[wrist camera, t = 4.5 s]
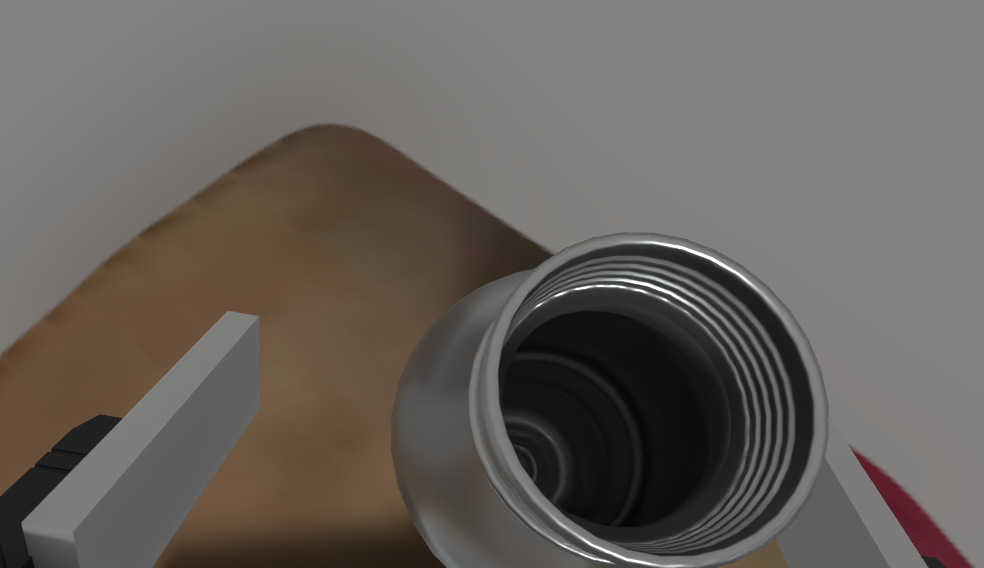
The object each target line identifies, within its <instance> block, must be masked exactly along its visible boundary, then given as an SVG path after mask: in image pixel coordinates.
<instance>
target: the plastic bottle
mask: <svg viewBox="0 0 984 568" xmlns="http://www.w3.org/2000/svg"><path fill="white" fill-rule="evenodd" d="M828 439H829V411H828V400H827V395H826V391H825V386H824V381H823V376H822V372H821V369H820V367H819V364H818V362H817V359H816V357H815V354H814V352H813V350H812V347H811V345H810V342H809V340H808V338H807V337H806V335H805V334H804V332H803V330H802V329H801V327H800V326H799V324H798V322H797V321H796V319H795V318H794V316H793V314H792V313H791V311H790V310H789V309H788V308H787V307H786V306H785V305H784V304H783V303H782V301H781V300H780V299H779V298H778V297H777V296H776V295H775V294H774V292H773V291H772V290H771V289H770V288H769V287H768V286H767V285H766V284H764V283H763V282H762V281H760V280H759V279H758V278H757V277H756V276H754V275H753V274H752V273H751V272H750V271H748V270H747V269H746V268H745V267H743V266H742V265H740V264H738V263H737V262H735V261H733V260H731V259H730V258H728V257H726V256H724V255H723V254H721V253H719V252H717V251H716V250H713V249H711V248H708V247H705V246H703V245H700V244H697V243H694V242H692V241H689V240H686V239H683V238H678V237H672V236H666V235H662V234H656V233H618V234H612V235H606V236H600V237H594V238H591V239H589V240H586V241H583V242H581V243H578V244H575V245H573V246H570V247H567V248H565V249H563V250H562V251H560V252H559V253H557V254H555V255H554V256H552V257H551V258H549V259H547V260H546V261H544V262H543V263H541V264H540V265H539V266H538V267H536V268H535V269H532V270H526V271H521V272H516V273H513V274H511V275H508V276H506V277H503V278H500V279H498V280H495V281H492V282H490V283H487V284H485V285H483V286H481V287H479V288H478V289H476V290H475V291H473V292H472V293H470V294H468V295H467V296H465V297H464V298H462V299H460V300H459V301H457V302H456V303H454V304H453V305H452V306H451V307H449V308H448V309H447V310H446V311H445V312H444V313H443V314H442V315H441V316H440V317H439V318H438V319H437V320H436V321H435V322H434V323H433V324H431V325H430V327H429V328H428V330H427V331H426V332H425V334H424V335H423V337H422V338H421V340H420V341H419V342H418V344H417V345H416V347H415V348H414V350H413V351H412V353H411V355H410V357H409V360H408V362H407V364H406V367H405V369H404V371H403V373H402V376H401V378H400V380H399V383H398V388H397V392H396V397H395V402H394V407H393V411H392V422H391V452H392V458H393V463H394V468H395V473H396V479H397V484H398V488H399V490H400V493H401V495H402V498H403V500H404V503H405V505H406V508H407V510H408V513H409V515H410V518H411V520H412V522H413V524H414V525H415V527H416V528H417V530H418V531H419V533H420V534H421V536H422V538H423V539H424V541H425V542H426V544H427V545H428V547H429V548H430V550H431V551H432V553H433V554H434V555H435V556H436V557H437V558H438V559H439V560H440V561H441V562H442V563H443V564H444V565H445V566H446V567H447V568H713V567H717V566H722V565H726V564H730V563H734V562H736V561H738V560H740V559H742V558H744V557H746V556H748V555H750V554H752V553H754V552H756V551H758V550H760V549H762V548H764V547H765V546H766V545H768V544H769V543H770V542H771V541H772V540H774V539H775V538H776V537H777V536H778V535H780V534H781V533H782V532H783V531H784V530H786V529H787V528H788V527H789V526H790V525H791V524H792V522H793V521H794V520H795V518H796V517H797V516H798V514H799V513H800V512H801V510H802V509H803V508H804V506H805V505H806V504H807V502H808V501H809V499H810V497H811V495H812V493H813V490H814V488H815V486H816V483H817V481H818V479H819V477H820V474H821V472H822V470H823V465H824V460H825V454H826V449H827V444H828Z"/></svg>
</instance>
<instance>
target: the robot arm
mask: <svg viewBox="0 0 984 568" xmlns="http://www.w3.org/2000/svg"><path fill="white" fill-rule="evenodd" d="M259 409H260V375H259V316H254V315H249V314H243V313H237V312H231V311H227V312H226V313H225V314H224V315H223V316H222V317H221V318H220V319H219V320H218V321H217V322H216V323H215V324H214V325H213V326H212V327H211V328H210V330H209V331H208V332H207V333H206V334H205V335H204V336H203V337H202V338H201V339H200V340H199V341H198V342H197V343H196V344H195V345H194V346H193V347H192V348H191V349H190V350H189V351H188V352H187V353H186V354H185V355H184V356H183V357H182V358H181V359H180V360H179V361H178V362H177V363H176V364H175V365H174V366H173V367H172V369H171V370H170V371H169V372H168V373H167V374H166V375H165V376H164V377H163V378H162V379H161V380H160V381H159V382H158V383H157V384H156V385H155V386H154V387H153V388H152V389H151V390H150V391H149V392H148V393H147V394H146V395H145V396H144V397H143V398H142V399H141V400H140V401H139V402H138V403H137V404H136V405H135V406H134V408H133V409H132V410H131V411H130V412H129V413H128V414H127V415H126V416H125V417H124V418H118V417H112V416H106V415H101V414H100V415H98V416H96V417H94V418H92V419H90V420H88V421H87V422H85V423H83V424H81V425H79V426H77V427H75V428H73V429H72V430H71V431H70V432H69V433H68V434H66V435H65V436H64V437H63V438H62V439H61V440H60V441H59V442H58V443H57V444H56V445H55V446H54V447H53V448H52V450H51V452H47V453H46V454H45V455H44V456H43V457H42V458H41V459H40V460H39V461H38V462H37V463H36V464H35V467H34V468H30V469H29V470H28V471H27V472H26V473H25V474H24V475H23V476H22V477H21V478H20V479H19V480H17V481H16V482H15V483H14V484H13V485H12V486H11V487H10V488H9V489H8V490H7V491H6V492H5V493H4V494H3V495H1V496H0V568H152V567H153V566H154V564H155V563H156V561H157V560H158V558H159V557H160V555H161V554H162V552H163V551H164V549H165V548H166V546H167V545H168V543H169V542H170V541H171V539H172V538H173V536H174V535H175V533H176V532H177V530H178V529H179V527H180V526H181V524H182V523H183V521H184V520H185V518H186V517H187V515H188V514H189V512H190V511H191V509H192V508H193V506H194V505H195V503H196V502H197V500H198V499H199V498H200V496H201V495H202V493H203V492H204V490H205V489H206V487H207V486H208V484H209V483H210V481H211V480H212V478H213V477H214V475H215V474H216V472H217V471H218V469H219V468H220V466H221V465H222V463H223V462H224V460H225V459H226V458H227V456H228V455H229V453H230V452H231V450H232V449H233V447H234V446H235V444H236V443H237V441H238V440H239V438H240V437H241V435H242V434H243V432H244V431H245V429H246V428H247V426H248V425H249V423H250V422H251V420H252V419H253V417H254V416H255V415H256V413H257V412H258V410H259ZM776 539H777V541H778V544H779V546H780V548H781V551H782V553H783V556H784V558H785V560H786V563H787V565H788V568H946V567H945V566H944V565H943V564H942V563H940V562H939V561H938V560H937V559H936V558H930V557H925V556H920V554H919V553H918V551H917V550H916V548H915V547H914V545H913V543H912V542H911V540H910V539H909V537H908V536H907V534H906V533H905V531H904V530H903V528H902V527H901V525H900V524H899V522H898V521H897V519H896V518H895V516H894V515H893V513H892V512H891V510H890V508H889V507H888V505H887V504H886V502H885V501H884V499H883V498H882V496H881V495H880V493H879V492H878V490H877V489H876V487H875V486H874V484H873V483H872V481H871V480H870V478H869V477H868V475H867V473H866V472H865V470H864V469H863V467H862V466H861V464H860V463H859V461H858V460H857V458H856V457H855V455H854V454H853V452H852V451H851V449H850V448H849V446H848V445H847V443H846V442H845V440H844V438H843V437H842V436H841V434H840V433H839V431H838V429H837V428H836V426H835V425H834V424H833V422H832V420H831V419H830V417H829V439H828V444H827V449H826V454H825V460H824V465H823V470H822V472H821V474H820V477H819V479H818V481H817V483H816V486H815V488H814V490H813V493H812V495H811V497H810V499H809V501H808V502H807V504H806V505H805V506H804V508H803V509H802V510H801V512H800V513H799V514H798V516H797V517H796V518H795V520H794V521H793V522H792V524H791V525H790V526H789V527H788V528H787V529H786V530H784V531H783V532H782V533H781V534H780V535H778V536H777V537H776Z"/></svg>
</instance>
